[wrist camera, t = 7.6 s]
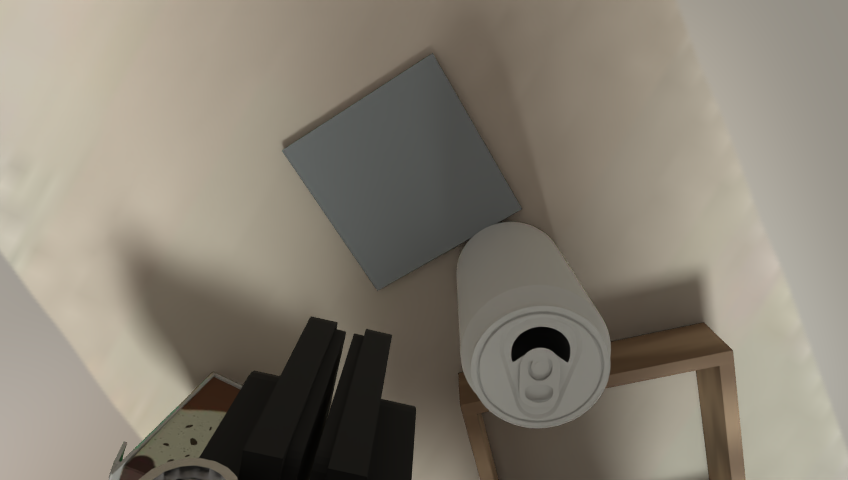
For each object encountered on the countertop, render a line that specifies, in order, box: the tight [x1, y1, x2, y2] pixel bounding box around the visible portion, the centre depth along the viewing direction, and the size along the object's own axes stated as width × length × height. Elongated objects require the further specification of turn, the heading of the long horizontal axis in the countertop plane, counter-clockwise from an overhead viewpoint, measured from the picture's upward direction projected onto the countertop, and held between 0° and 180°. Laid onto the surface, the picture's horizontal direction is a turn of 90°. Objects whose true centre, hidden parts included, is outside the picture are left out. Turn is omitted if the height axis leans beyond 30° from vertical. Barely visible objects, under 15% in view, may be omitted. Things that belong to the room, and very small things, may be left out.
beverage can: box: [456, 222, 611, 428], centre depth 28 cm, size 6×6×12 cm
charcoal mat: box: [282, 53, 522, 291], centre depth 31 cm, size 10×10×1 cm
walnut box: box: [458, 323, 746, 480], centre depth 35 cm, size 16×16×4 cm
